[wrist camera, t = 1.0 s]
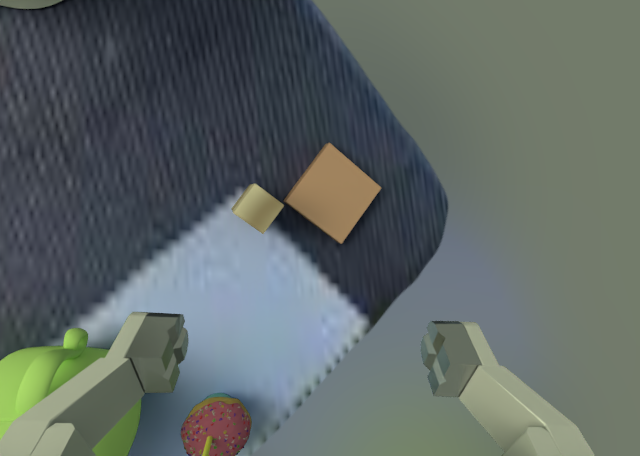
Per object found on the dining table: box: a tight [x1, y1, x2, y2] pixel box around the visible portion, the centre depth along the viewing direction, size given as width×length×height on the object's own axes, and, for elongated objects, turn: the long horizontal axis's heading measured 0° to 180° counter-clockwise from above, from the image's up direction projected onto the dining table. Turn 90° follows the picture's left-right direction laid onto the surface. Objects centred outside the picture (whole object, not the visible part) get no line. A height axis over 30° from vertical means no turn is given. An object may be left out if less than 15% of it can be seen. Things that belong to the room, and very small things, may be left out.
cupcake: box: [181, 393, 252, 456], centre depth 41 cm, size 9×8×12 cm
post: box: [232, 184, 284, 234], centre depth 41 cm, size 4×4×9 cm
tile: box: [284, 143, 381, 244], centre depth 48 cm, size 10×10×2 cm
